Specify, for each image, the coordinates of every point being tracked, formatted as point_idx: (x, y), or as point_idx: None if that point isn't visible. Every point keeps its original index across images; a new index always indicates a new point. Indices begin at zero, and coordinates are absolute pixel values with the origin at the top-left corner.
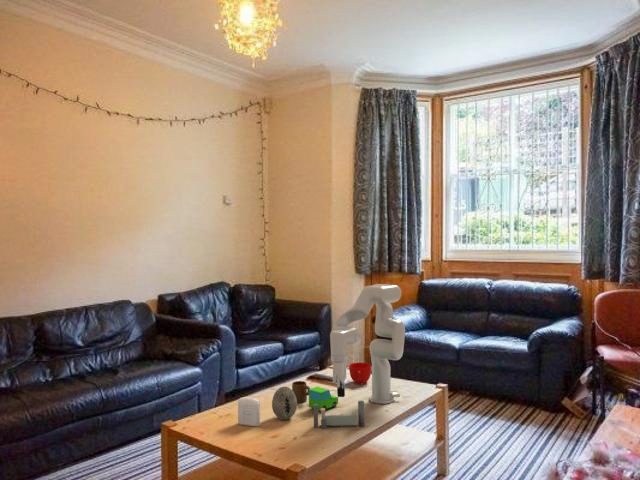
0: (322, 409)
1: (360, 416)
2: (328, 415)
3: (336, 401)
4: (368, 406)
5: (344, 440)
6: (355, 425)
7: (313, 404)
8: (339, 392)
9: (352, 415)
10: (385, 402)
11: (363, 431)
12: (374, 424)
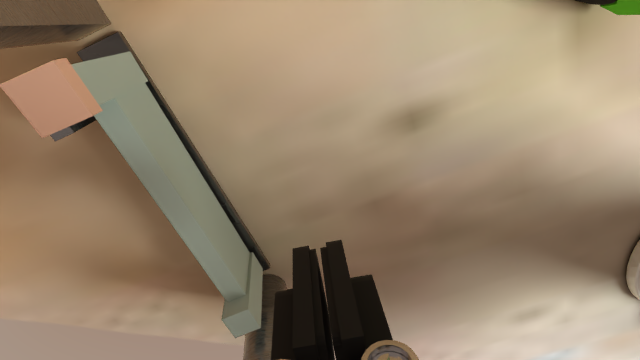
0: (30, 98)
1: (244, 344)
2: (129, 134)
3: (627, 5)
4: (591, 217)
5: (3, 288)
6: None
7: None
8: (276, 332)
9: (224, 307)
10: (633, 289)
11: (195, 322)
12: None
